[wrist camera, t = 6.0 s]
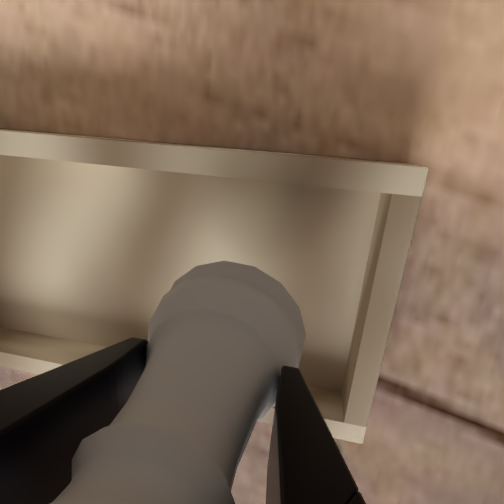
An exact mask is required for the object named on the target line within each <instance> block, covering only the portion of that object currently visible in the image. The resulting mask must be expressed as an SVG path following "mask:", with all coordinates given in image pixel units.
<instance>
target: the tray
mask: <svg viewBox="0 0 504 504" xmlns="http://www.w3.org/2000/svg"><path fill="white" fill-rule="evenodd" d="M428 169H429V168H428V167H423V166H419V165H414V164H409V163H399V162H387V161H375V160H364V159H352V158H340V157H328V156H317V155H305V154H293V153H282V152H270V151H258V150H246V149H235V148H223V147H211V146H200V145H188V144H176V143H164V142H153V141H141V140H129V139H117V138H106V137H94V136H82V135H71V134H59V133H47V132H35V131H24V130H12V129H0V366H1V367H5V368H10V369H15V370H19V371H24V372H29V373H33V374H38V375H40V374H42V373H45V372H47V371H49V370H52V369H54V368H57V367H59V366H62V365H64V364H67V363H69V362H72V361H74V360H77V359H79V358H82V357H84V356H87V355H89V354H92V353H94V352H97V351H99V350H101V349H104V348H106V347H109V346H111V345H114V344H116V343H119V342H121V341H124V340H126V339H129V338H131V337H137V338H142V339H146V340H147V341H148V326H149V323H150V321H151V318H152V316H153V314H154V312H155V311H156V309H157V307H158V305H159V303H160V301H161V299H162V297H163V296H164V295H165V294H166V293H168V292H169V291H170V289H171V287H172V286H173V284H174V282H175V281H176V280H177V279H179V278H180V277H181V276H183V275H184V274H186V273H187V272H188V271H190V270H191V269H193V268H194V267H195V266H199V265H204V264H209V263H214V262H219V261H230V262H235V263H240V264H245V265H250V266H255V267H256V268H258V269H260V270H261V271H263V272H264V273H266V274H268V275H269V276H271V277H272V278H274V279H276V280H277V281H279V282H280V283H282V285H283V286H284V287H285V289H286V290H287V291H288V293H289V294H290V295H291V297H292V298H293V299H294V301H295V302H296V303H297V305H298V306H299V308H300V312H301V316H302V320H303V324H304V328H305V332H306V337H305V342H304V346H303V351H302V355H301V360H300V363H299V369H300V371H301V373H302V375H303V377H304V379H305V381H306V383H307V385H308V387H309V389H310V392H311V394H312V396H313V398H314V400H315V402H316V404H317V406H318V408H319V410H320V412H321V414H322V416H323V418H324V420H325V422H326V424H327V426H328V428H329V430H330V432H331V434H332V436H333V438H336V439H341V440H346V441H350V442H355V443H360V444H363V439H364V435H365V431H366V427H367V423H368V419H369V414H370V410H371V406H372V402H373V398H374V394H375V390H376V385H377V381H378V377H379V373H380V369H381V365H382V360H383V356H384V352H385V348H386V344H387V340H388V335H389V331H390V327H391V323H392V319H393V315H394V310H395V306H396V302H397V298H398V294H399V290H400V285H401V281H402V277H403V273H404V269H405V265H406V261H407V256H408V252H409V248H410V244H411V240H412V236H413V231H414V227H415V223H416V219H417V215H418V211H419V206H420V202H421V198H422V194H423V190H424V186H425V181H426V177H427V173H428ZM274 411H275V406H274V407H272V408H270V410H269V411H268V412H267V413H266V414H265V416H264V417H263V418H262V419H260V420H258V421H257V422H262V423H266V424H271V425H273V419H274Z"/></svg>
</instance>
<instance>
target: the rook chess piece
mask: <svg viewBox="0 0 504 504" xmlns="http://www.w3.org/2000/svg"><path fill="white" fill-rule="evenodd" d="M305 337H306V332H305V328H304V324H303V320H302V316H301V312H300V308H299V306H298V305H297V303H296V302H295V301H294V299H293V298H292V297H291V295H290V294H289V293H288V291H287V290H286V289H285V287H284V286H283V285H282V283H280V282H279V281H277V280H276V279H274V278H272V277H271V276H269V275H268V274H266V273H264V272H263V271H261V270H260V269H258V268H256V267H255V266H250V265H245V264H240V263H235V262H230V261H219V262H214V263H209V264H204V265H199V266H195V267H194V268H193V269H191V270H190V271H188V272H187V273H186V274H184V275H183V276H181V277H180V278H179V279H177V280H176V281H175V282H174V284H173V286H172V287H171V289H170V291H169V292H168V293H166V294H165V295H164V296H163V297H162V299H161V301H160V303H159V305H158V307H157V309H156V311H155V312H154V314H153V316H152V318H151V321H150V323H149V326H148V344H147V346H146V366H145V369H144V372H143V373H142V375H141V377H140V379H139V381H138V383H137V384H136V386H135V388H134V390H133V392H132V394H131V395H130V397H129V399H128V401H127V403H126V404H125V405H124V407H123V408H122V409H121V411H120V412H119V413H118V415H117V416H116V417H115V419H114V420H113V421H112V423H111V424H110V425H109V426H107V427H104V428H102V429H100V430H98V431H97V432H95V433H93V434H91V435H90V436H88V437H86V438H84V439H82V441H81V443H80V445H79V447H78V449H77V451H76V453H75V454H74V456H73V458H72V480H71V482H70V484H69V485H68V486H67V487H66V488H65V489H64V490H63V491H62V493H61V494H60V495H59V496H58V497H57V498H56V499H55V500H54V501H53V502H52V503H50V504H235V502H234V499H233V497H232V494H231V488H232V484H233V481H234V477H235V473H236V469H237V467H238V464H239V462H240V460H241V457H242V455H243V452H244V450H245V448H246V445H247V443H248V441H249V438H250V436H251V433H252V431H253V429H254V426H255V424H256V422H257V421H258V420H260V419H262V418H263V417H264V416H265V414H266V413H267V412H268V411H269V410H270V408H272V407H274V406H275V403H276V395H277V389H278V384H279V379H280V374H281V368H282V366H284V365H285V366H291V367H296V368H299V363H300V360H301V355H302V351H303V346H304V342H305Z"/></svg>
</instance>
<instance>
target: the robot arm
mask: <svg viewBox="0 0 504 504" xmlns="http://www.w3.org/2000/svg"><path fill="white" fill-rule="evenodd" d="M147 344H148V341H147V340H146V339H142V338H137V337H131V338H129V339H126V340H124V341H121V342H119V343H116V344H114V345H111V346H109V347H106V348H104V349H101V350H99V351H97V352H94V353H92V354H89V355H87V356H84V357H82V358H79V359H77V360H74V361H72V362H69V363H67V364H64V365H62V366H59V367H57V368H54V369H52V370H49V371H47V372H45V373H42V374H40V375H37V376H35V377H32V378H30V379H27V380H25V381H22V382H20V383H17V384H15V385H12V386H10V387H7V388H5V389H2V390H0V504H50V503H52V502H53V501H54V500H55V499H56V498H57V497H58V496H59V495H60V494H61V493H62V491H63V490H64V489H65V488H66V487H67V486H68V485H69V484H70V482H71V480H72V458H73V456H74V454H75V453H76V451H77V449H78V447H79V445H80V443H81V441H82V439H84V438H86V437H88V436H90V435H91V434H93V433H95V432H97V431H98V430H100V429H102V428H104V427H107V426H109V425H110V424H111V423H112V421H113V420H114V419H115V417H116V416H117V415H118V413H119V412H120V411H121V409H122V408H123V407H124V405H125V404H126V403H127V401H128V399H129V397H130V395H131V394H132V392H133V390H134V388H135V386H136V384H137V383H138V381H139V379H140V377H141V375H142V373H143V372H144V369H145V366H146V346H147ZM266 504H366V503H365V501H364V499H363V497H362V495H361V493H360V492H358V487H357V485H356V483H355V481H354V479H353V477H352V475H351V473H350V471H349V469H348V467H347V465H346V463H345V461H344V459H343V457H342V455H341V453H340V450H339V448H338V446H337V444H336V442H335V440H334V438H333V436H332V434H331V432H330V430H329V428H328V426H327V424H326V422H325V420H324V418H323V416H322V414H321V412H320V410H319V408H318V406H317V404H316V402H315V400H314V398H313V396H312V394H311V392H310V389H309V387H308V385H307V383H306V381H305V379H304V377H303V375H302V373H301V371H300V369H299V368H296V367H291V366H285V365H284V366H282V368H281V374H280V379H279V384H278V389H277V395H276V403H275V411H274V419H273V427H272V435H271V443H270V451H269V459H268V469H267V489H266Z"/></svg>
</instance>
